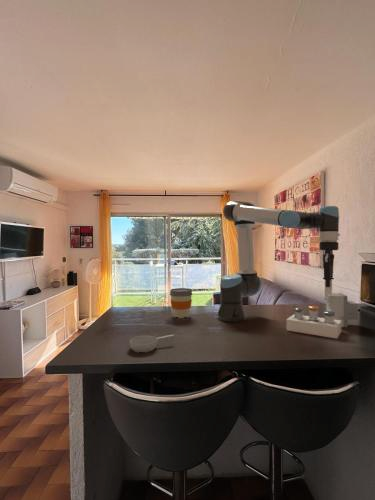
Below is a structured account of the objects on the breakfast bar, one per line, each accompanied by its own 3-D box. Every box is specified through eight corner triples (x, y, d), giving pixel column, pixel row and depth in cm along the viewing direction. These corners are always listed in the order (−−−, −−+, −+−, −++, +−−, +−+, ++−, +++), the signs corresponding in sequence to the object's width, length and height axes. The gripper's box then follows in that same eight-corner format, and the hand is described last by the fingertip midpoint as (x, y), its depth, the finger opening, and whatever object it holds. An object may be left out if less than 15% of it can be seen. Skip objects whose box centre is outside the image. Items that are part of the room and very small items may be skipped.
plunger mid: (307, 326, 128) (307, 307, 128) (309, 324, 132) (309, 305, 131) (317, 327, 125) (317, 308, 125) (319, 325, 129) (319, 306, 129)
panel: (286, 330, 130) (286, 319, 130) (293, 324, 139) (293, 314, 139) (337, 338, 117) (337, 326, 117) (341, 331, 127) (341, 320, 127)
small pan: (127, 346, 112) (127, 336, 112) (169, 339, 119) (169, 330, 119) (133, 356, 102) (132, 345, 102) (178, 348, 109) (178, 338, 109)
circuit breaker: (361, 327, 132) (361, 296, 132) (329, 326, 135) (329, 295, 135) (355, 323, 140) (355, 293, 139) (324, 322, 143) (324, 292, 142)
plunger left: (292, 327, 132) (292, 309, 132) (295, 325, 135) (295, 307, 135) (302, 329, 129) (302, 310, 129) (305, 326, 133) (304, 308, 133)
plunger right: (323, 332, 124) (322, 312, 124) (324, 329, 128) (324, 310, 128) (334, 334, 122) (333, 313, 121) (335, 331, 125) (335, 311, 125)
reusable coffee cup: (196, 315, 160) (196, 289, 160) (184, 320, 150) (184, 292, 150) (178, 312, 167) (178, 287, 167) (165, 317, 157) (165, 290, 156)
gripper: (336, 241, 117) (335, 297, 117) (340, 241, 127) (339, 292, 128) (316, 241, 121) (316, 295, 122) (322, 241, 132) (321, 291, 132)
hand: (328, 294), depth 125 cm, fingers closed
